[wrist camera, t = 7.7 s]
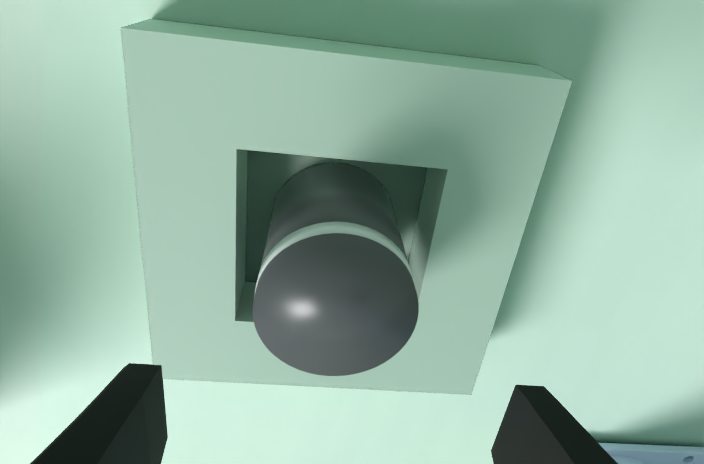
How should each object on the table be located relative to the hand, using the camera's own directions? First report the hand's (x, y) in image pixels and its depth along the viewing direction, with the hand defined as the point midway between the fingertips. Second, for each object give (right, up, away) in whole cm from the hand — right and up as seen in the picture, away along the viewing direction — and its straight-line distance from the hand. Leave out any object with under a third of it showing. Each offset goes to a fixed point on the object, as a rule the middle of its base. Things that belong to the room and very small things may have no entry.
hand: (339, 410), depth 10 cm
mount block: (0, +4, +8) cm, 9 cm away
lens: (0, +4, +8) cm, 9 cm away
